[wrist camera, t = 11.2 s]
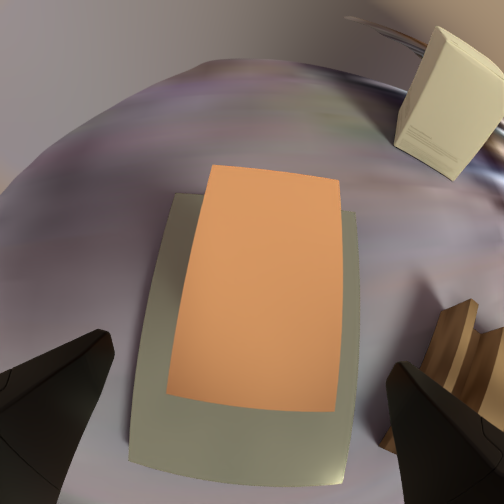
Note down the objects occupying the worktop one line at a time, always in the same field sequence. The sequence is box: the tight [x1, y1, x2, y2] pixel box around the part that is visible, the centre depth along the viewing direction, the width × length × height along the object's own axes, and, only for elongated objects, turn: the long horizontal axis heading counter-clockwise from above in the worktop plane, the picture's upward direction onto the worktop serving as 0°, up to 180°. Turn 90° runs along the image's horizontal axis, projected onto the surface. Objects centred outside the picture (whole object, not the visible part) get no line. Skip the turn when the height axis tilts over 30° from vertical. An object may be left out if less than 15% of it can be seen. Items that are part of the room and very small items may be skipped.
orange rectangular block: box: [166, 165, 343, 412], centre depth 11 cm, size 5×3×12 cm, turn 173°
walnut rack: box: [379, 299, 504, 455], centre depth 13 cm, size 12×16×4 cm
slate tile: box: [128, 193, 360, 487], centre depth 17 cm, size 20×14×2 cm
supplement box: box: [394, 26, 504, 181], centre depth 20 cm, size 9×9×15 cm
